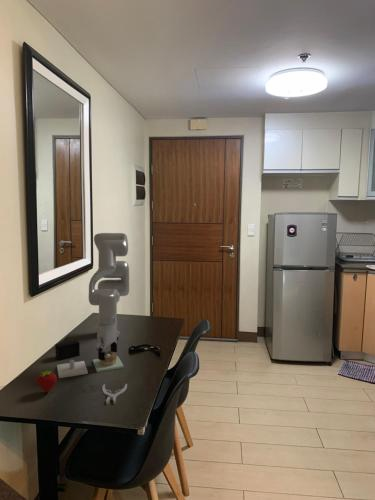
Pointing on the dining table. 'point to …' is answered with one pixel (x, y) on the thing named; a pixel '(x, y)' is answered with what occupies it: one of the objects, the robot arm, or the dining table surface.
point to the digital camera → (67, 350)
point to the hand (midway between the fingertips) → (107, 355)
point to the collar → (109, 359)
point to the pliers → (112, 396)
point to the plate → (105, 368)
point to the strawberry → (46, 380)
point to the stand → (71, 369)
